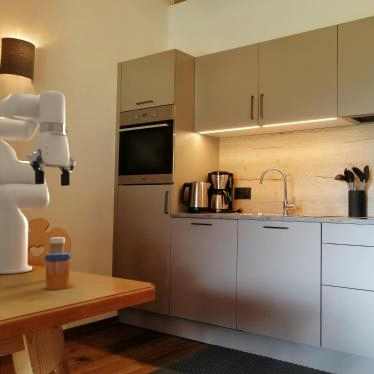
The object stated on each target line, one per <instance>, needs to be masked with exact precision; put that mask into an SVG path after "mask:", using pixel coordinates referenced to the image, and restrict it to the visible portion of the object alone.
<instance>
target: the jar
mask: <svg viewBox="0 0 374 374" xmlns="http://www.w3.org/2000/svg"><path fill="white" fill-rule="evenodd" d="M70 260H71V259H69V260H63V261H46V260H45V289H46V290H50V291H51V290H52V291H53V290H54V291H55V290H57V291H58V290H64V289H65V290H66V289H68V288H70V278H71V277H70V275H71V272H70V271H71V270H70V269H71V261H70Z"/></svg>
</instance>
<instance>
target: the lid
mask: <svg viewBox="0 0 374 374" xmlns="http://www.w3.org/2000/svg"><path fill="white" fill-rule="evenodd" d="M44 254H45V255H44V260H45V262H46V261H63V260H69V259H70V260H71V259H72V255H71V254H72V253H71V252H67V251H64V252H56V253H50V252H48V253H44Z"/></svg>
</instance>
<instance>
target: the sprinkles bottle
mask: <svg viewBox="0 0 374 374" xmlns="http://www.w3.org/2000/svg"><path fill="white" fill-rule="evenodd" d="M65 244H66V237H64V236H53V237H50V238H49V245H50V246H49V253H56V252H65Z"/></svg>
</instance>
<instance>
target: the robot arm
mask: <svg viewBox="0 0 374 374" xmlns="http://www.w3.org/2000/svg"><path fill="white" fill-rule="evenodd" d="M0 113H1V115H2V116H0V275H10V274H13V275H14V274H22V273H27V272H30V271H32V270H33V266H32V265H28V261H29V260H28V259H29V256H28V255H29V221H28V218H27V217H26V216H25V214H24V213H23V212H22V211H25V210H26V211H31V210H32V211H33V210H34V211H35V210H37V211H38V210H44V209H46V208H47V207H48V206H49V203H50V199H51V198H50V191H49V189H48V184H47V181H46V177H45V170H44V169H45V167H47V168H55V169H56V168H58V169H59V170H60V171H61V173H60V186H61V187H66V186H67V187H68V186H70V185H71V184H70V183H71V182H70V181H71V180H70V179H71V177H70V176H71V174H72V171H73V170H74V168H75V165H76V160H74V159H73V157H71V156H70V148H69V141H68V136H67V134H68V130H67V129H66V128H67V127H66V126H67V125H66V124H67V123H66V122H67V121H66V119H67V117H66V116H67V115H66V96H65V94H64V93H62V92H61V91H57V90H51V89H50V90H43V91H41V92H40V93H39V95H38V94H32V93H26V92H11V93H10V94H8V96H6V97H4V98H3V99H1V100H0ZM38 129H39V130H38ZM37 131H39V132H38V133H37V134H36V132H37ZM35 134H36V136H35ZM34 136H35V141H34V147H33V148H34V150H33V152H32V153H29V154H28V155H27V156H26V158H27V160H28V161H23V160H20V159H18V157H17V153H16V150H15V149H14V148H13V147H12V146H11V145H10V144H9V143H7V142H6V141H15V142H29V141H31V140H33V137H34ZM5 140H6V141H5Z"/></svg>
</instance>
